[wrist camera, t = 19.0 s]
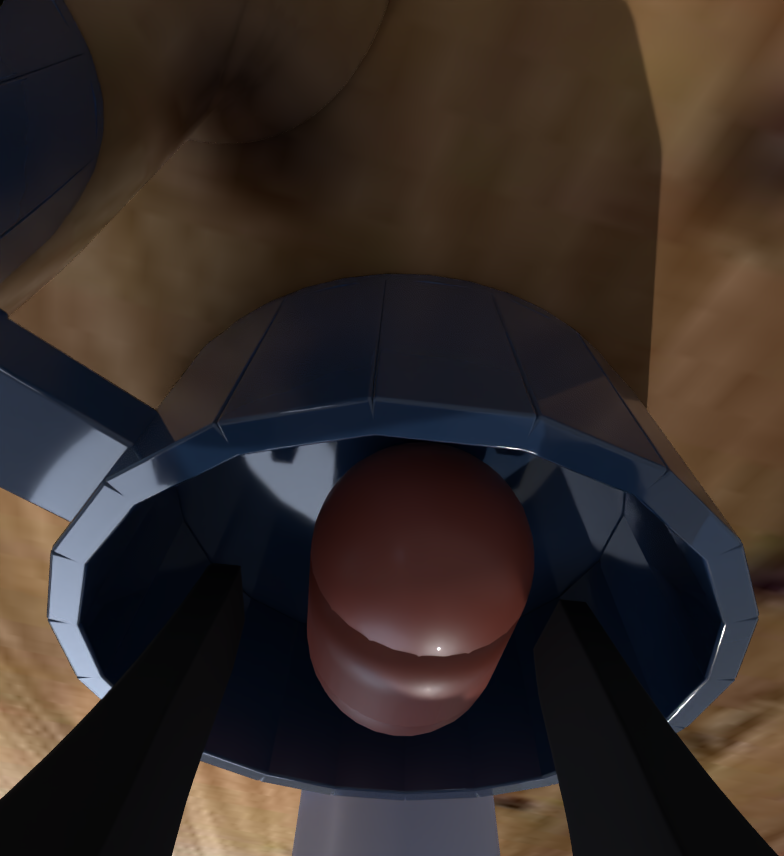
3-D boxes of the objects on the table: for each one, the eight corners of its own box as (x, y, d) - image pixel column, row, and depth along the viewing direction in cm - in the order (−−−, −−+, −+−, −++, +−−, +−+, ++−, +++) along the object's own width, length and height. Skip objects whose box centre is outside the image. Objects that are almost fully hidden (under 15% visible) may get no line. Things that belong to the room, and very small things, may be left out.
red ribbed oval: (453, 595, 16) (497, 761, 12) (305, 601, 15) (303, 781, 11) (516, 403, 12) (616, 568, 8) (313, 395, 11) (315, 576, 7)
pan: (455, 698, 20) (466, 853, 16) (-15, 459, 13) (-200, 625, 9) (780, 544, 14) (925, 727, 10) (247, -25, 8) (56, -149, 3)
